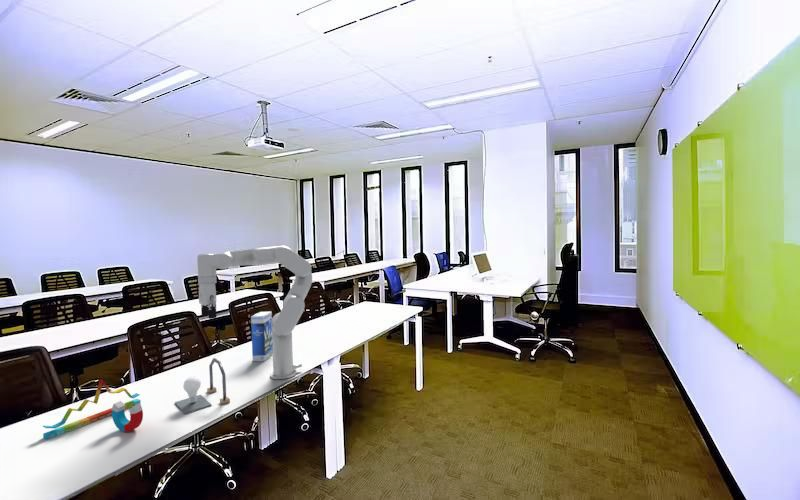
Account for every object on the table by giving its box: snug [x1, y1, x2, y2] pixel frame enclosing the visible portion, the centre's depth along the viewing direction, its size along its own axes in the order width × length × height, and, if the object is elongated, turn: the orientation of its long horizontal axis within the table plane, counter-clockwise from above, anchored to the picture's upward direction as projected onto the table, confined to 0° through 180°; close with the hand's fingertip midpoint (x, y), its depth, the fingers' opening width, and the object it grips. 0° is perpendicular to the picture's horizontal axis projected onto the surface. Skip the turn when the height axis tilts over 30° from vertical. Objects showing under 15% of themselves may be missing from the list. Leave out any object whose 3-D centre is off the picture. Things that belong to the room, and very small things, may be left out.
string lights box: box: [250, 311, 273, 362], centre depth 213 cm, size 13×8×26 cm, turn 179°
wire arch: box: [206, 357, 231, 405], centre depth 161 cm, size 3×19×17 cm, turn 45°
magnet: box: [111, 400, 144, 433], centre depth 134 cm, size 12×3×10 cm, turn 74°
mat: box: [174, 394, 212, 415], centre depth 154 cm, size 10×14×1 cm
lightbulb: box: [183, 376, 202, 403], centre depth 155 cm, size 6×6×11 cm
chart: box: [42, 379, 142, 441], centre depth 143 cm, size 30×3×15 cm, turn 153°
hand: (208, 316), depth 171 cm, fingers open, 9 cm apart
